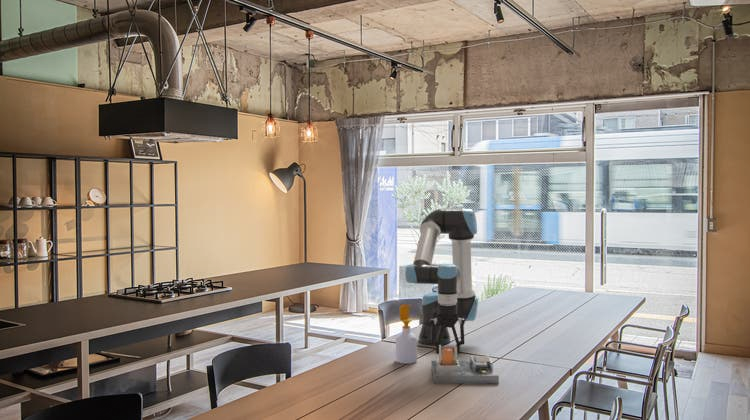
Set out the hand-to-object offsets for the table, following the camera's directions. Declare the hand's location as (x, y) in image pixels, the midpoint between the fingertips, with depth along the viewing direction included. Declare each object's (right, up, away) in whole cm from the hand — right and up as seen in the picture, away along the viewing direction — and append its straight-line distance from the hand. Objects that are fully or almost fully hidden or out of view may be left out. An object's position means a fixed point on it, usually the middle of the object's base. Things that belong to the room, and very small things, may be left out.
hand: (447, 361), depth 243 cm
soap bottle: (-15, -5, +19) cm, 25 cm away
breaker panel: (+6, -5, -2) cm, 8 cm away
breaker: (+13, +1, -1) cm, 13 cm away
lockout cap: (0, -2, -1) cm, 2 cm away
